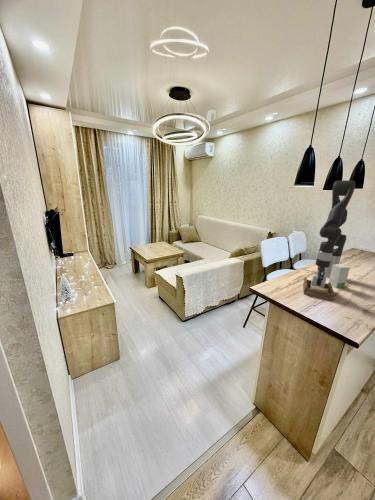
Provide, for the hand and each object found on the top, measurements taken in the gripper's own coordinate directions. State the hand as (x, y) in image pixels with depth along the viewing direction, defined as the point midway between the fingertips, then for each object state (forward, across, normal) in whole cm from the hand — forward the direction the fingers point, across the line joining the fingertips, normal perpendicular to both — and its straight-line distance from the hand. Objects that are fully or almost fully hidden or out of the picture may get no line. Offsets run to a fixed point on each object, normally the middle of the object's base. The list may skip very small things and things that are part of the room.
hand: (317, 283), depth 134 cm
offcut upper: (+3, +6, 0) cm, 7 cm away
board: (+5, 0, 0) cm, 5 cm away
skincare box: (+6, -16, +13) cm, 22 cm away
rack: (+6, +2, 0) cm, 6 cm away
